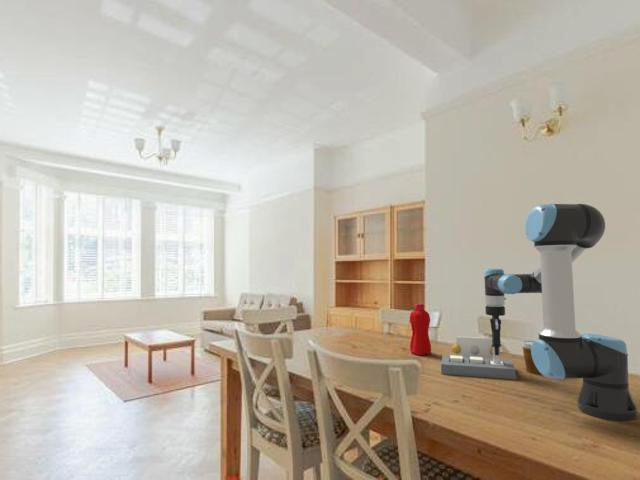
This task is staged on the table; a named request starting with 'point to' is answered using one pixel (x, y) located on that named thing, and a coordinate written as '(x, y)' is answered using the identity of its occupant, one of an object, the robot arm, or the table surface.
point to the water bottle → (420, 331)
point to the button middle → (476, 360)
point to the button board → (478, 368)
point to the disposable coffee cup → (529, 357)
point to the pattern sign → (473, 347)
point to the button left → (456, 358)
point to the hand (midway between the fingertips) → (496, 362)
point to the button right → (496, 363)
